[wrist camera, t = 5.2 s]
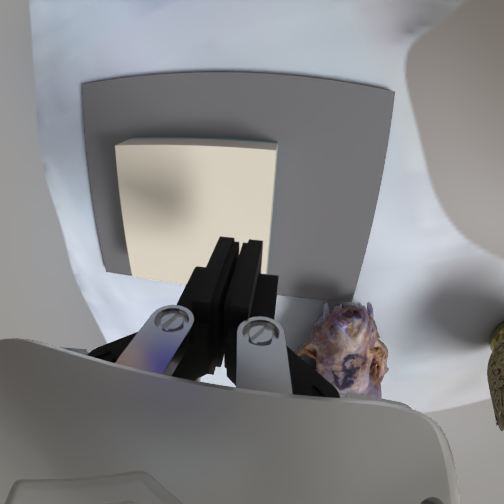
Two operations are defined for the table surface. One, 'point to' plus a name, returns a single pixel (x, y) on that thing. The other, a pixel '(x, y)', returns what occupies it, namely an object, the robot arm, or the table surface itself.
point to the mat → (287, 169)
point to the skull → (348, 350)
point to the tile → (193, 200)
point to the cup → (497, 374)
